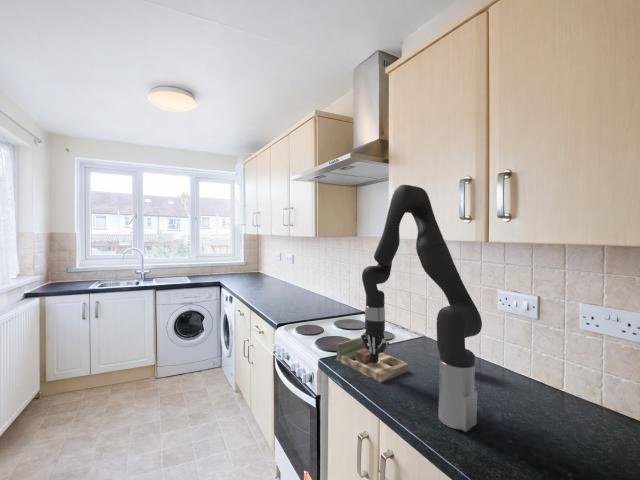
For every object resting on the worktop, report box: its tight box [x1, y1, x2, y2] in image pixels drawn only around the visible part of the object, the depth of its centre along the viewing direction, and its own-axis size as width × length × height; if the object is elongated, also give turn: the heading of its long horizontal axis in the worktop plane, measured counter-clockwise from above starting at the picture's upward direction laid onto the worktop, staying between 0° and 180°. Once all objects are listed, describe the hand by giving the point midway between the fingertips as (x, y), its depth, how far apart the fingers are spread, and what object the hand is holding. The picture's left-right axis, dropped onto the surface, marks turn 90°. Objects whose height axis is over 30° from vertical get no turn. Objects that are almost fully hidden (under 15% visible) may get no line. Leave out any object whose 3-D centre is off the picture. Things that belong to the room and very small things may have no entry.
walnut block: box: [355, 349, 371, 365], centre depth 123 cm, size 5×5×4 cm
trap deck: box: [336, 336, 409, 384], centre depth 126 cm, size 24×16×7 cm, turn 37°
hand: (374, 362), depth 120 cm, fingers closed
